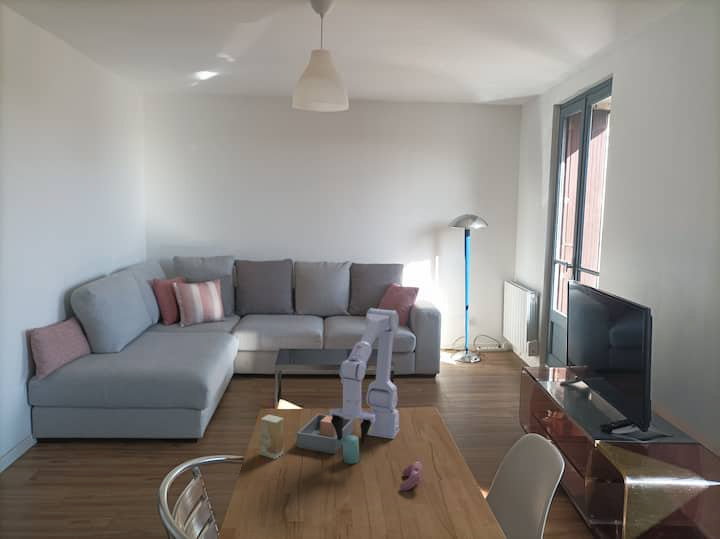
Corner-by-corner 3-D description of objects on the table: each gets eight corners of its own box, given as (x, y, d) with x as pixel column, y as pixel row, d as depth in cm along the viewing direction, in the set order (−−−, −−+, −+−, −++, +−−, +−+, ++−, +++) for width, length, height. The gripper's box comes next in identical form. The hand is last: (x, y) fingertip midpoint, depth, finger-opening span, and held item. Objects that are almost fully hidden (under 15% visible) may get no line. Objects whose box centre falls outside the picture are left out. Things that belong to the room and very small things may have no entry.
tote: (353, 432, 193) (353, 418, 193) (335, 454, 177) (335, 439, 176) (317, 427, 198) (317, 413, 197) (296, 447, 181) (296, 433, 181)
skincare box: (259, 455, 176) (259, 418, 174) (268, 449, 179) (267, 413, 178) (276, 459, 173) (276, 422, 171) (284, 454, 176) (284, 417, 175)
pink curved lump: (412, 497, 155) (424, 477, 153) (398, 489, 155) (409, 469, 154) (415, 480, 164) (426, 461, 163) (401, 472, 165) (412, 453, 163)
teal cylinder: (359, 455, 175) (358, 434, 174) (359, 463, 170) (358, 441, 169) (343, 456, 175) (342, 435, 174) (343, 464, 170) (341, 442, 169)
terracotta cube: (339, 431, 192) (339, 417, 192) (333, 437, 187) (333, 423, 187) (326, 429, 194) (326, 415, 193) (320, 435, 189) (320, 421, 189)
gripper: (325, 400, 169) (325, 442, 171) (370, 406, 164) (370, 449, 166) (333, 392, 176) (333, 433, 177) (377, 398, 171) (376, 440, 173)
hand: (351, 441), depth 172 cm, fingers open, 7 cm apart
